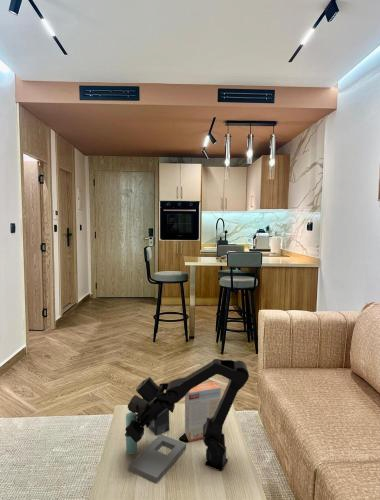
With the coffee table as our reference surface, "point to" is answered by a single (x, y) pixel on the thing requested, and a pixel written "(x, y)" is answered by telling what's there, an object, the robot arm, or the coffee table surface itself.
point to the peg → (130, 443)
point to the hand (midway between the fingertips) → (128, 431)
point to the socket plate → (157, 458)
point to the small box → (160, 423)
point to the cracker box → (200, 408)
